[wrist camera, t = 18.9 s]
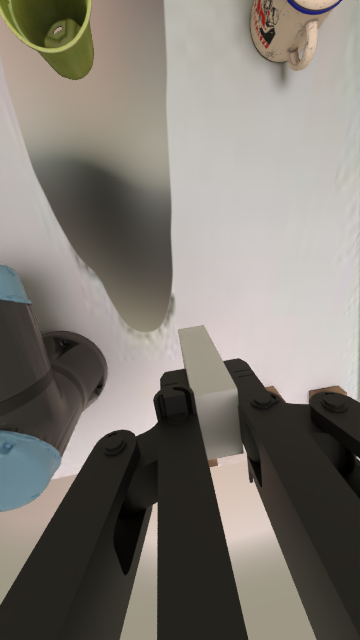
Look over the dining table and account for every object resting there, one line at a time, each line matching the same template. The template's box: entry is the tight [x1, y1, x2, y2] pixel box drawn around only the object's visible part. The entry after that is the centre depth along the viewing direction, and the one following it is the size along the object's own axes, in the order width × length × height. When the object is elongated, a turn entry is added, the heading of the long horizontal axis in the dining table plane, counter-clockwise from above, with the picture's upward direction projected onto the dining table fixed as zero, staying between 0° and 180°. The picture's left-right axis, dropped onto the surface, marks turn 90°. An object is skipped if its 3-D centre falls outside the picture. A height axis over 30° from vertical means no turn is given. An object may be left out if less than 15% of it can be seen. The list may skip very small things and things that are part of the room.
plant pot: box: [0, 0, 94, 80], centre depth 29 cm, size 9×9×9 cm
